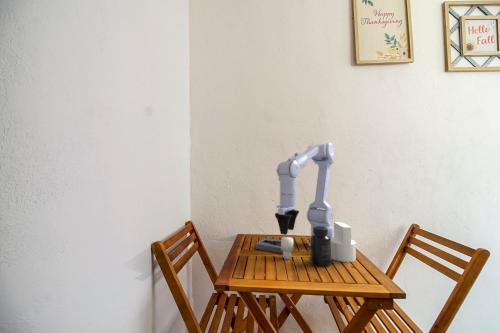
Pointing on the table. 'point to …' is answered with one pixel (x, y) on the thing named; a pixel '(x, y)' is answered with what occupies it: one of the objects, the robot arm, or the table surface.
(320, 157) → the robot arm
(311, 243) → the supplement bottle
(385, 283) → the table surface
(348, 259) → the cylinder with rectangular tab
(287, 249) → the light bulb
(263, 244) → the keyhole plate
